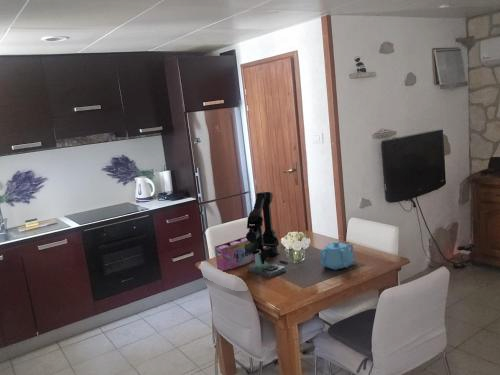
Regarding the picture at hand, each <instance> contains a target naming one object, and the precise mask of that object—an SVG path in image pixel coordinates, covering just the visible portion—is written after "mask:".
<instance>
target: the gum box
mask: <svg viewBox="0 0 500 375" xmlns="http://www.w3.org/2000/svg"><path fill="white" fill-rule="evenodd" d="M249 243H250V242H249V241H248V240H247V238H246V236H244V237H240V238H238V239H234V240H231V241H228V242H226V243H223V244H222V243H221V244H219V245H215V246H214V252H215V259H216V268H217V269H218V268H219V269H218V270H220V269H221V271H222V270H223V271H222V272H225V271H224V270H227V271H229V270H228V269H230V270H232V269H235V268H238V267H240V266H243V265H246V264H249V263H251V261H252V262H255V261H254V260H255V257H254V255H253V254H252V253H247V252H246V250H245V248H244V247H245V245H246V244H249Z"/></svg>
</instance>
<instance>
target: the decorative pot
mask: <svg viewBox="0 0 500 375" xmlns="http://www.w3.org/2000/svg"><path fill="white" fill-rule="evenodd" d="M353 251H354V246H353V245H352V244H351V243H344V242H339V241H333V242H330V243H327V244H326V245H325V247H324V248H323V249H321V250H320V254H319V255H320V258H321V259H322V260H320V265H321V266H325V267H326V268H328V269H331V270H333V271H338V270H339V269H346V268H349V267H350V266H352V265H353V262H354V258H355V254H354V253H353Z"/></svg>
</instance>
